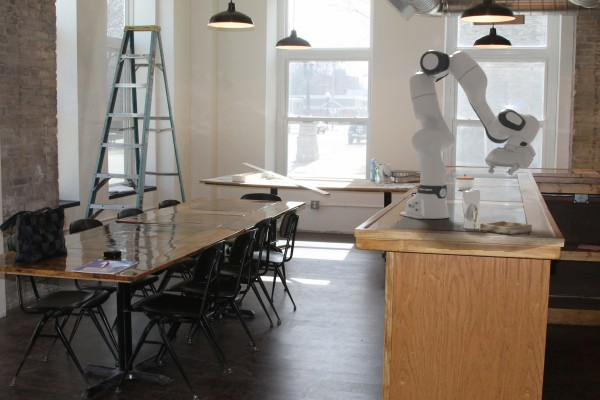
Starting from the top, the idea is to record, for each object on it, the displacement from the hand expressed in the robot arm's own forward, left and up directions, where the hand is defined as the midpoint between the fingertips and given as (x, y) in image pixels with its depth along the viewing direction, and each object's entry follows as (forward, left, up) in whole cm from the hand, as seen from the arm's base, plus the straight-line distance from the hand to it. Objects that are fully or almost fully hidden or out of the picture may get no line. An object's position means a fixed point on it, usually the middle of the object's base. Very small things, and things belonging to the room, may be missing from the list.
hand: (499, 173), depth 302 cm
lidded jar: (-102, +96, -21) cm, 142 cm away
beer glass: (0, -17, -21) cm, 27 cm away
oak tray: (+13, -12, -21) cm, 27 cm away
